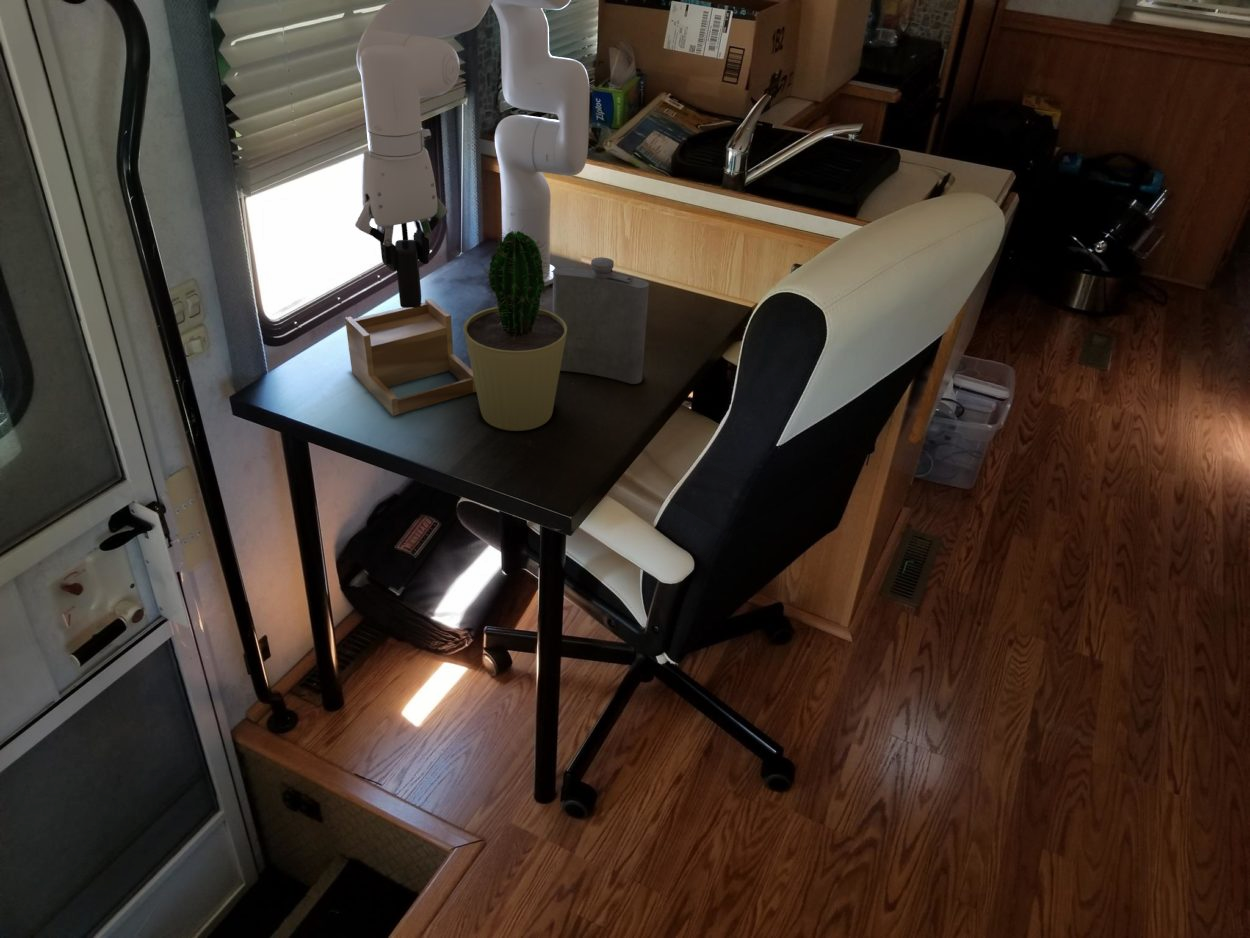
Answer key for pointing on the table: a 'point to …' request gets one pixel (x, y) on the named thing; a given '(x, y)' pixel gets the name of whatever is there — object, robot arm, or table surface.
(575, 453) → the table surface
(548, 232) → the robot arm
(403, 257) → the walkie-talkie
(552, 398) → the potted cactus
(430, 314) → the step shelf
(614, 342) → the hip flask
